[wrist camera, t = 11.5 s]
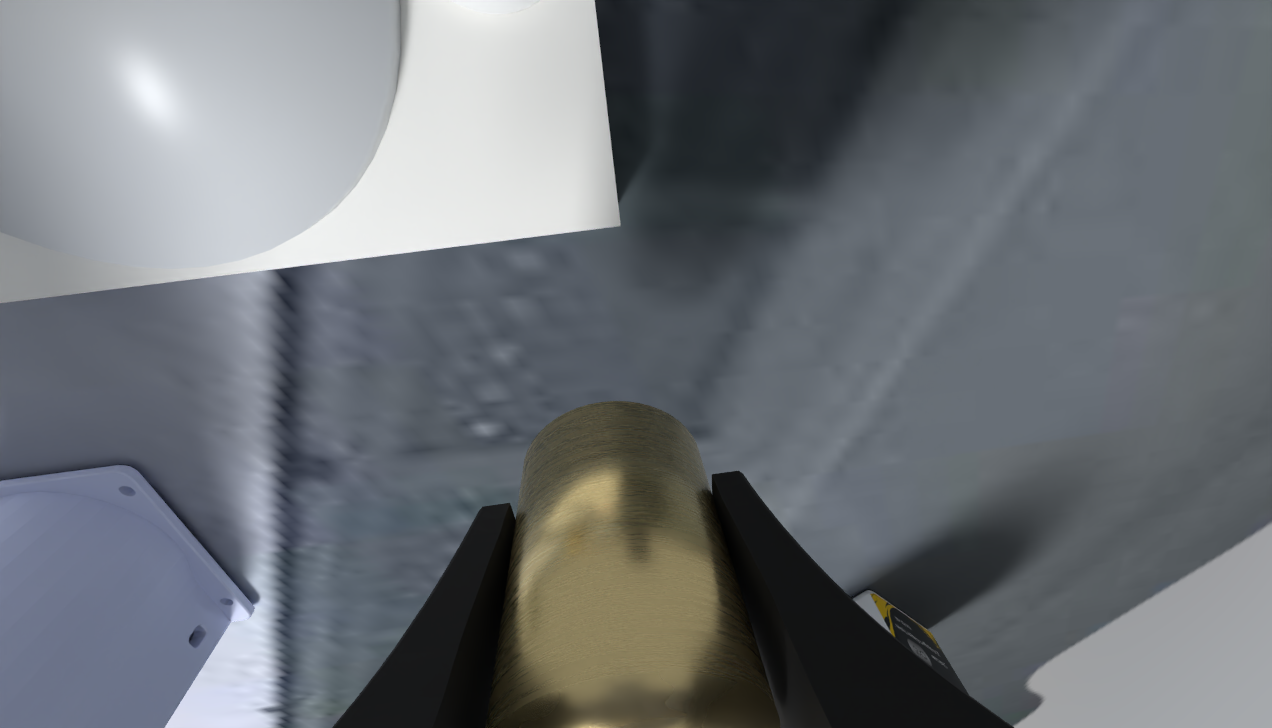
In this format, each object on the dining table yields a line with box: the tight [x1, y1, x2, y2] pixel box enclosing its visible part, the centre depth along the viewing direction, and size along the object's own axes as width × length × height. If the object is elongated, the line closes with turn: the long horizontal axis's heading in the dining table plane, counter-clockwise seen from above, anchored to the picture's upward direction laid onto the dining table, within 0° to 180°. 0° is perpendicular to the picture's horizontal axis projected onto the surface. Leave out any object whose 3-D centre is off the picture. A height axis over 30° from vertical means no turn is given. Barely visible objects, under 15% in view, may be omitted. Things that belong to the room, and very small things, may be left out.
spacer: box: [486, 401, 780, 728], centre depth 10 cm, size 4×4×6 cm
